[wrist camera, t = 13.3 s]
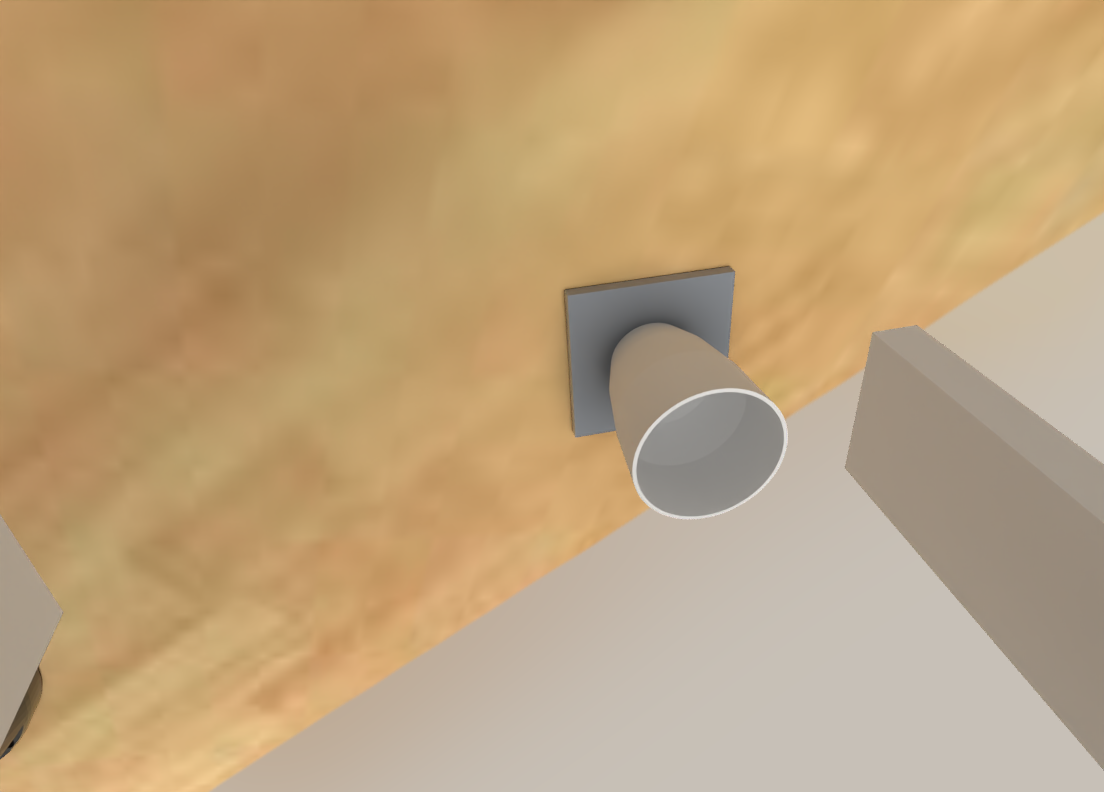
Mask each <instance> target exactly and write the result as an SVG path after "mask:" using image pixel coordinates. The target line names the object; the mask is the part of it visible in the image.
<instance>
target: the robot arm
mask: <svg viewBox="0 0 1104 792" xmlns="http://www.w3.org/2000/svg"><path fill="white" fill-rule="evenodd" d="M845 469H846V470H847V471H848V472H849V473H850V475H851V476H852V477H853V478H854V479H855V480H856V482H857V483H858V484H859V485H860V486H861V487H862V489H863V490H864V491H865V492H866V493H867V494H868V496H869V497H870V498H871V499H872V500H873V501H874V503H875V504H876V505H877V506H878V507H879V508H880V509H881V511H882V512H883V513H884V514H885V515H886V517H887V518H888V519H889V520H890V521H891V522H892V524H893V525H894V526H895V527H896V528H897V529H898V530H899V532H900V533H901V534H902V535H903V536H904V538H905V539H906V540H907V541H908V542H909V543H910V545H912V547H913V548H914V549H915V550H916V552H917V553H918V554H919V555H920V556H921V557H922V559H923V560H924V561H925V562H926V563H927V564H928V566H929V567H930V568H931V569H932V570H933V572H934V573H935V574H936V575H937V576H938V577H939V578H940V580H941V581H942V582H943V583H944V584H945V586H946V587H947V588H948V589H949V590H950V591H951V593H952V594H953V595H954V596H955V597H956V598H957V600H958V601H959V602H960V603H961V604H962V605H963V606H964V608H965V609H966V610H967V611H968V612H969V613H970V615H971V616H972V617H973V618H974V619H975V620H976V622H977V623H978V624H979V625H980V626H981V628H982V629H983V630H984V631H985V632H986V633H987V635H989V637H990V638H991V639H992V640H993V641H994V643H995V644H996V645H997V646H998V647H999V649H1000V650H1001V651H1002V652H1003V653H1004V654H1005V656H1006V657H1007V658H1008V659H1009V660H1010V661H1011V663H1012V664H1013V665H1014V666H1015V667H1016V668H1017V670H1018V671H1019V672H1020V673H1021V674H1022V675H1023V677H1024V678H1025V679H1026V680H1027V681H1028V682H1029V684H1030V685H1031V686H1032V687H1033V688H1034V689H1035V691H1036V692H1037V693H1038V694H1039V695H1040V696H1041V698H1042V699H1043V700H1044V701H1045V702H1046V703H1047V705H1048V706H1049V707H1050V708H1051V709H1052V710H1053V711H1054V713H1055V714H1056V715H1057V716H1058V717H1059V719H1060V720H1061V721H1062V722H1063V723H1064V724H1065V726H1066V727H1067V728H1068V729H1069V730H1070V731H1071V733H1072V734H1073V735H1074V736H1075V737H1076V738H1077V740H1078V741H1079V742H1080V743H1081V744H1082V746H1083V747H1084V748H1085V749H1086V750H1087V751H1088V752H1089V754H1090V755H1091V756H1092V757H1093V758H1094V759H1095V761H1096V762H1097V763H1098V764H1099V765H1100V767H1101V768H1102V769H1103V770H1104V464H1102V463H1101V462H1100V461H1098V460H1097V459H1096V458H1095V457H1093V456H1092V455H1091V454H1089V453H1088V452H1086V451H1085V450H1084V449H1082V448H1081V447H1080V446H1078V445H1077V444H1076V443H1074V442H1073V441H1072V440H1070V439H1069V438H1068V437H1066V436H1065V435H1064V434H1062V433H1061V432H1059V431H1058V430H1057V429H1056V428H1054V427H1053V426H1052V425H1050V424H1049V423H1047V422H1046V421H1045V420H1044V419H1042V418H1041V417H1039V416H1038V415H1037V414H1035V413H1034V412H1033V411H1031V410H1030V409H1029V408H1027V407H1026V406H1024V405H1023V404H1022V403H1021V402H1019V401H1018V400H1017V399H1015V398H1014V397H1013V396H1011V395H1010V394H1009V393H1007V392H1006V391H1005V390H1003V389H1002V388H1001V387H999V386H998V385H997V384H995V383H994V382H992V381H991V380H990V379H988V378H987V377H986V376H984V375H983V374H982V373H980V372H979V371H978V370H976V369H975V368H974V367H972V366H971V365H970V364H968V363H967V362H966V361H964V360H963V359H962V358H960V357H959V356H958V355H956V354H955V353H953V352H952V351H951V350H949V349H948V348H947V347H945V346H944V345H943V344H941V343H940V342H939V341H937V340H936V339H935V338H933V337H932V336H931V335H929V334H928V333H927V332H925V331H924V330H923V329H921V328H920V327H919V326H917V325H915V326H909V327H902V328H896V329H890V330H884V331H877V332H873V333H872V337H871V342H870V347H869V352H868V357H867V362H866V367H865V372H864V377H863V382H862V386H861V392H860V396H859V402H858V407H857V411H856V416H855V421H854V426H853V431H852V436H851V440H850V445H849V450H848V455H847V460H846V465H845ZM62 614H63V611H62V609H61V608H60V606H59V605H58V603H57V602H56V600H55V598H54V597H53V595H52V594H51V592H50V591H49V589H48V588H47V586H46V585H45V583H44V581H43V580H42V578H41V577H40V575H39V574H38V572H37V571H36V569H35V568H34V566H33V564H32V563H31V561H30V560H29V558H28V557H27V555H26V554H25V552H24V550H23V549H22V547H21V546H20V544H19V543H18V541H17V540H16V538H15V537H14V535H13V533H12V532H11V530H10V529H9V527H8V526H7V524H6V523H5V521H4V520H3V518H2V516H1V515H0V759H1V758H3V757H4V756H5V755H6V754H7V753H9V752H10V751H11V749H12V748H13V747H14V746H15V745H16V744H17V743H18V742H19V740H20V739H21V738H22V736H23V734H24V733H25V731H26V729H27V727H28V725H29V723H30V721H31V718H32V716H33V714H34V712H35V709H36V707H37V705H38V703H39V700H40V697H41V692H42V682H41V677H40V673H39V671H38V666H39V664H40V661H41V659H42V657H43V655H44V653H45V651H46V648H47V646H48V644H49V642H50V640H51V638H52V636H53V633H54V631H55V629H56V627H57V625H58V623H59V620H60V618H61V616H62Z"/></svg>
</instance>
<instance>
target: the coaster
mask: <svg viewBox="0 0 1104 792" xmlns="http://www.w3.org/2000/svg"><path fill="white" fill-rule="evenodd" d="M734 278H735V271H734V270H733V269H732V268H731V267H730V266H728V267H721V268H714V269H707V270H700V271H693V272H686V273H679V274H672V275H665V276H658V277H651V278H645V279H638V280H631V281H624V282H617V283H610V284H603V285H596V286H589V287H582V288H575V289H568V290H565V307H566V324H567V341H568V358H569V376H570V393H571V410H572V427H573V432H574V435H575V437H581V436H587V435H593V434H599V433H605V432H611V431H616V428H615V422H614V416H613V410H612V405H611V399H610V393H609V383H610V369H611V359H612V355H613V352H614V350H615V348H616V346H617V344H618V343H619V342H620V340H621V339H622V338H623V337H624V336H625V335H626V334H628V333H629V332H630V331H632V330H633V329H635V328H637V327H639V326H642V325H645V324H649V323H666V324H670V325H672V326H675V327H677V328H680V329H682V330H684V331H687V332H689V333H692V334H694V335H696V336H698V337H700V338H701V339H703V340H704V341H705V342H707V343H708V344H709V345H711V346H712V347H713V348H715V349H716V350H717V351H719V352H720V353H722V354H723V355H724V356H726V357H727V358H728V352H729V339H730V327H731V315H732V303H733V290H734Z"/></svg>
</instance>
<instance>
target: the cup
mask: <svg viewBox="0 0 1104 792" xmlns="http://www.w3.org/2000/svg"><path fill="white" fill-rule="evenodd" d="M609 393H610V399H611V405H612V410H613V416H614V422H615V428H616V433H617V437H618V440H619V442H620V445H621V448H622V451H623V454H624V457H625V460H626V463H627V465H628V468H629V471H630V474H631V477H632V480H633V483H634V485H635V488H636V491H637V493H638V494H639V496H640V497H641V499H642V500H643V501H644V502H645V503H646V504H647V505H648V506H649V507H650V508H652V509H653V510H655V511H657V512H658V513H661V514H663V515H666V516H669V517H673V518H678V519H701V518H707V517H712V516H716V515H719V514H722V513H725V512H727V511H730V510H732V509H734V508H736V507H738V506H740V505H741V504H743V503H745V502H746V501H748V500H749V499H751V498H752V497H753V496H755V495H756V494H757V493H758V492H759V491H760V490H761V489H763V488H764V487H765V485H767V483H768V482H769V481H770V480H771V479H772V477H773V476H774V475H775V473H776V471H777V470H778V468H779V466H780V465H781V462H782V460H783V457H784V455H785V452H786V448H787V441H788V432H787V426H786V422H785V419H784V417H783V415H782V413H781V411H780V410H779V409H778V407H777V406H776V405H775V404H774V403H773V402H772V401H771V400H770V399H769V398H768V397H767V396H766V395H765V394H764V393H763V392H762V391H761V390H760V389H759V388H758V387H757V386H756V385H755V384H754V382H753V381H752V380H751V379H750V378H749V377H748V376H747V375H746V374H745V373H744V372H743V371H742V370H741V369H740V368H739V367H738V366H737V365H736V364H735V363H734V362H732V361H731V360H730V359H728V358H727V357H726V356H724V355H723V354H722V353H720V352H719V351H717V350H716V349H715V348H713V347H712V346H711V345H709V344H708V343H707V342H705V341H704V340H703V339H701V338H700V337H698V336H696V335H694V334H692V333H689V332H687V331H684V330H682V329H680V328H677V327H675V326H672V325H670V324H666V323H649V324H645V325H642V326H639V327H637V328H635V329H633V330H632V331H630V332H629V333H628V334H626V335H625V336H624V337H623V338H622V339H621V340H620V342H619V343H618V344H617V346H616V348H615V350H614V352H613V355H612V359H611V369H610V383H609Z"/></svg>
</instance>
